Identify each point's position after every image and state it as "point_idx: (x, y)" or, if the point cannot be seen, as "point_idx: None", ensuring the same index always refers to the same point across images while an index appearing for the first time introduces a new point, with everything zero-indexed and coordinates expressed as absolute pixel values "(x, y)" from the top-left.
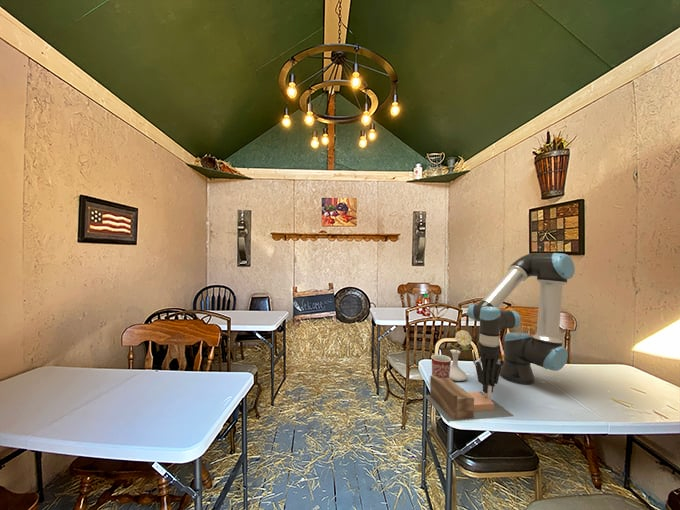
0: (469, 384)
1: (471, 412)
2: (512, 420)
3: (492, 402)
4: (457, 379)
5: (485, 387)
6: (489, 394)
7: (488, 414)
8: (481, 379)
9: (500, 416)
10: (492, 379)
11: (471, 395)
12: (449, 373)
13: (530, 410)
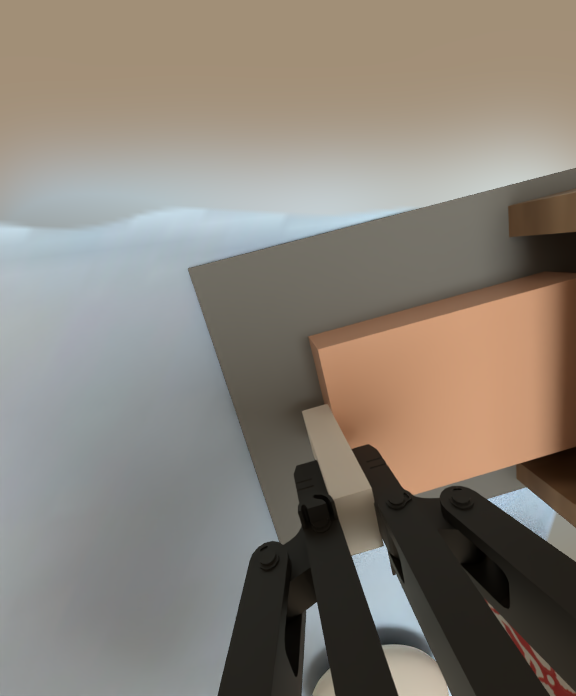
0: (314, 629)
1: (561, 194)
2: (228, 216)
3: (323, 365)
4: (391, 653)
5: (391, 481)
6: (333, 437)
7: (379, 265)
8: (535, 537)
9: (303, 247)
10: (343, 586)
11: (436, 446)
12: (538, 676)
13: (21, 383)
